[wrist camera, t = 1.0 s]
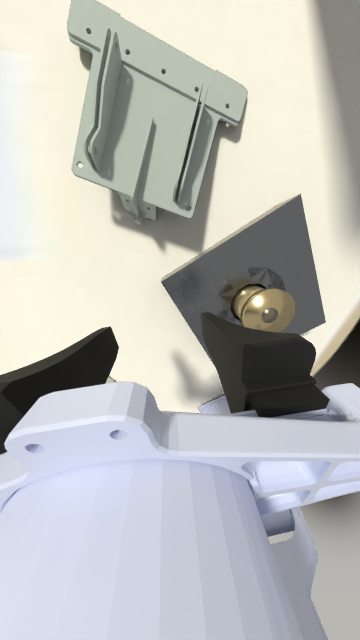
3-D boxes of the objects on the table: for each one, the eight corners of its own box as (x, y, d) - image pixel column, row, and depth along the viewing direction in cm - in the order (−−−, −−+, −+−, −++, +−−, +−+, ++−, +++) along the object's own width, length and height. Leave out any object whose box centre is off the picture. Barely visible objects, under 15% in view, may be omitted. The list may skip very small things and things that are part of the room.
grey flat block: (304, 313, 23) (325, 322, 20) (213, 358, 26) (219, 373, 23) (276, 205, 18) (300, 193, 14) (162, 277, 20) (160, 281, 17)
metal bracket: (214, 226, 13) (24, 152, 11) (197, 248, 19) (71, 203, 16) (265, 44, 12) (62, -87, 9) (231, 127, 18) (99, 58, 15)
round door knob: (263, 303, 22) (301, 323, 15) (230, 320, 23) (254, 346, 16) (251, 271, 20) (289, 279, 14) (216, 291, 21) (236, 307, 14)
